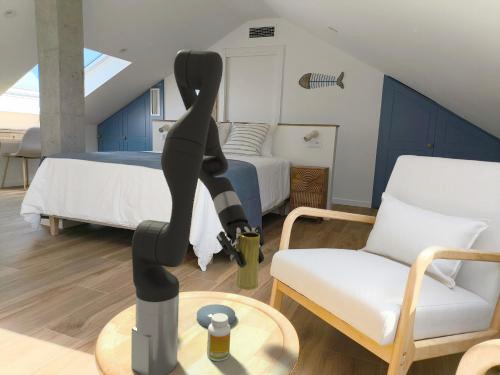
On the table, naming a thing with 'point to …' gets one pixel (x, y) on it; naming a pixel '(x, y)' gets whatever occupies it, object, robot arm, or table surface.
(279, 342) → the table surface
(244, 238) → the vase
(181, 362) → the table surface
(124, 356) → the table surface
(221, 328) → the supplement bottle
